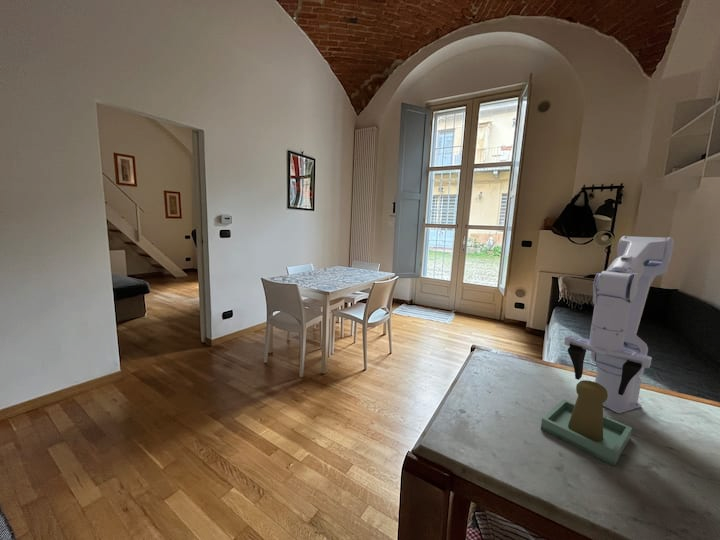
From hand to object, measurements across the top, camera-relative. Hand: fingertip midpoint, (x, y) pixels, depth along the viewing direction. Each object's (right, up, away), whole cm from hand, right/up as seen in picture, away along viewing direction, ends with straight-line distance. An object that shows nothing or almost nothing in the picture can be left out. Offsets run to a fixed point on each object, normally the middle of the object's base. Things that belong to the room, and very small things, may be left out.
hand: (598, 385), depth 66 cm
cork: (-5, -9, -3) cm, 11 cm away
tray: (-5, -10, -2) cm, 11 cm away
